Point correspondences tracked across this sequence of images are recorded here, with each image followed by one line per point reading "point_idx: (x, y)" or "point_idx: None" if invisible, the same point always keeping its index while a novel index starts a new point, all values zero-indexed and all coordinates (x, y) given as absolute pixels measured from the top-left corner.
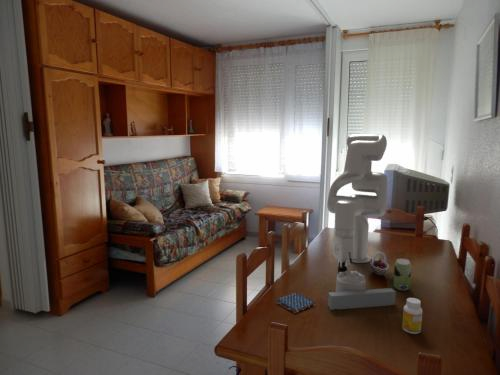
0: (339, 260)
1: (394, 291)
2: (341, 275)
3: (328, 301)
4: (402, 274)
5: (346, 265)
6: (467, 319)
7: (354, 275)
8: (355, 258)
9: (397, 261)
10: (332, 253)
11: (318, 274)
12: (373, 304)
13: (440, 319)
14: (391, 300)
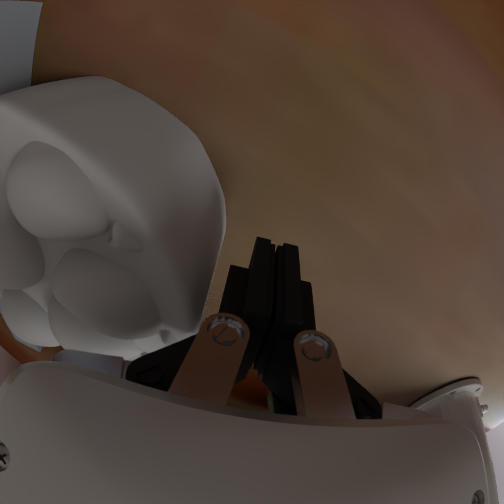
0: (75, 397)
1: (16, 338)
2: (6, 181)
3: (16, 3)
4: None
5: (69, 362)
6: (21, 359)
7: (49, 304)
8: (435, 407)
9: None
10: (475, 437)
11: (488, 199)
12: None
13: (4, 325)
14: None
